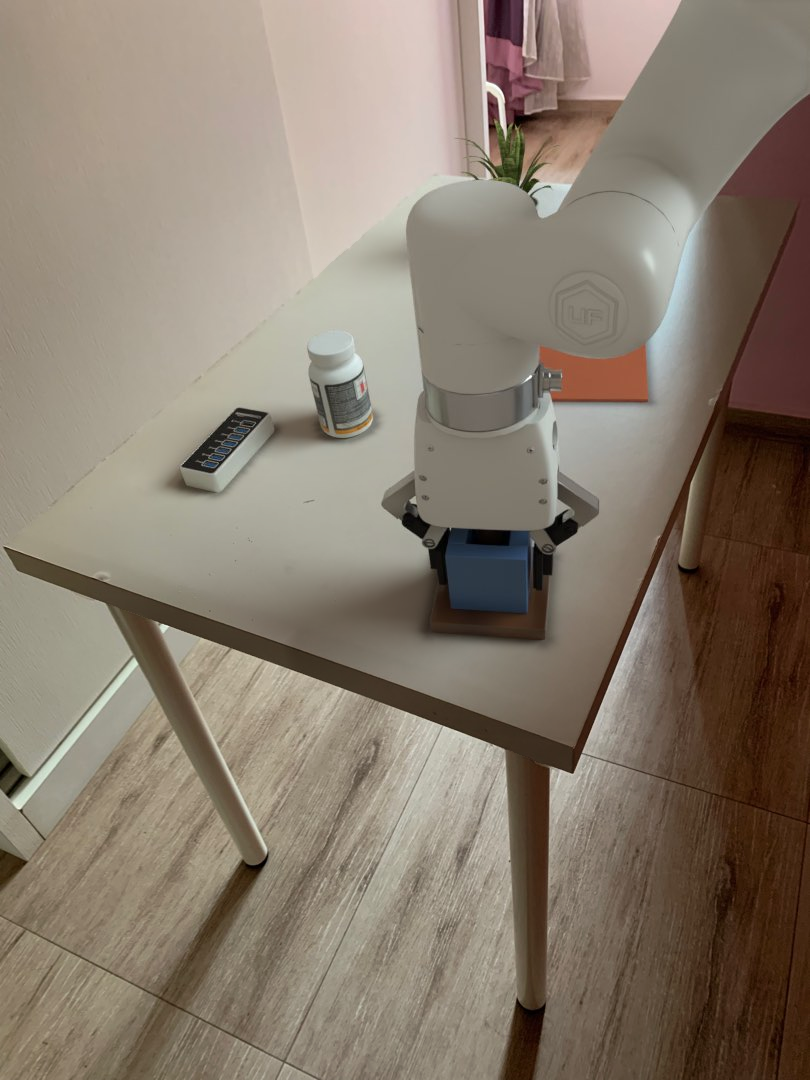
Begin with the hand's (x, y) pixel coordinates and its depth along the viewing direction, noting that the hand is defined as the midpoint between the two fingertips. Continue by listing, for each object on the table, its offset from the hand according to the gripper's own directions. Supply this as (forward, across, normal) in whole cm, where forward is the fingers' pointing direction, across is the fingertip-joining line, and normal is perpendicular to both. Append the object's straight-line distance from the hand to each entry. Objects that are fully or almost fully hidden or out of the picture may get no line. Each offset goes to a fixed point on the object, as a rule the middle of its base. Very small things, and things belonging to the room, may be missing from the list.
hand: (492, 573), depth 65 cm
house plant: (+3, +5, -65) cm, 65 cm away
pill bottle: (+3, +18, -23) cm, 29 cm away
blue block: (+1, 0, 0) cm, 1 cm away
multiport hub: (+3, +29, -17) cm, 34 cm away
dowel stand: (+2, 0, 0) cm, 2 cm away
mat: (+2, -5, -36) cm, 36 cm away
